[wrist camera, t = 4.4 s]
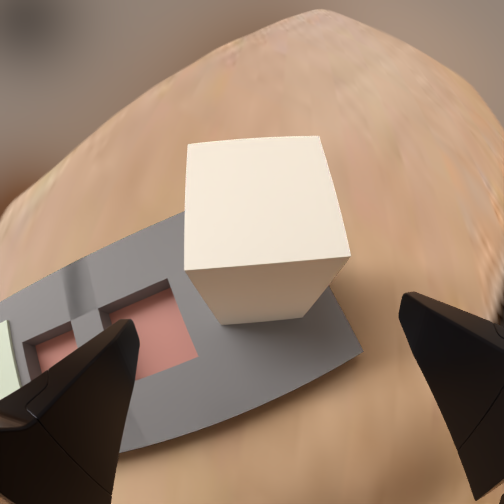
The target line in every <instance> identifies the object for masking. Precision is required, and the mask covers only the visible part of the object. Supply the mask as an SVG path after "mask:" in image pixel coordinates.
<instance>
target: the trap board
mask: <svg viewBox="0 0 504 504" xmlns="http://www.w3.org/2000/svg"><path fill="white" fill-rule="evenodd" d="M184 223H185V211H184V212H182V213H179V214H177V215H175V216H172V217H170V218H168V219H165V220H163V221H161V222H158V223H156V224H154V225H152V226H149V227H147V228H145V229H143V230H140V231H138V232H136V233H134V234H132V235H129V236H127V237H125V238H123V239H121V240H119V241H117V242H114V243H112V244H110V245H108V246H106V247H104V248H102V249H100V250H98V251H96V252H94V253H91V254H89V255H87V256H85V257H83V258H81V259H79V260H77V261H75V262H73V263H71V264H69V265H67V266H66V267H64V268H62V269H60V270H58V271H56V272H54V273H52V274H50V275H48V276H46V277H44V278H43V279H41V280H39V281H37V282H35V283H33V284H31V285H30V286H28V287H26V288H24V289H22V290H21V291H19V292H17V293H15V294H14V295H12V296H10V297H8V298H6V299H5V300H3V301H1V302H0V400H1V399H3V398H4V397H6V396H8V395H9V394H11V393H13V392H14V391H16V390H18V389H19V388H21V387H22V386H24V385H26V384H27V383H29V382H30V381H32V380H33V379H35V378H36V377H38V376H39V375H40V374H42V373H43V372H45V371H46V370H49V368H50V367H52V366H53V365H55V364H56V363H58V362H59V361H60V360H62V359H63V358H65V357H66V356H67V355H69V354H70V353H72V352H73V351H75V350H76V349H78V348H79V347H80V346H82V345H83V344H85V343H86V342H88V341H89V340H90V339H92V338H93V337H95V336H96V335H98V334H99V333H101V332H102V331H104V330H105V329H106V328H108V327H109V326H111V325H112V324H114V323H115V322H117V321H118V320H120V319H132V320H133V322H134V324H135V327H136V330H137V333H138V336H139V340H140V348H139V355H138V362H137V369H136V377H135V384H134V388H133V392H132V396H131V401H130V405H129V409H128V413H127V418H126V422H125V427H124V432H123V436H122V441H121V446H120V451H119V453H121V452H125V451H130V450H134V449H138V448H141V447H145V446H149V445H152V444H156V443H159V442H163V441H166V440H169V439H173V438H176V437H179V436H182V435H185V434H188V433H191V432H194V431H197V430H200V429H203V428H205V427H208V426H211V425H214V424H216V423H219V422H222V421H224V420H227V419H229V418H232V417H234V416H237V415H239V414H242V413H244V412H247V411H249V410H251V409H254V408H256V407H258V406H260V405H263V404H265V403H267V402H269V401H272V400H274V399H276V398H278V397H280V396H282V395H284V394H286V393H289V392H291V391H293V390H295V389H297V388H299V387H301V386H303V385H305V384H307V383H309V382H310V381H312V380H314V379H316V378H318V377H320V376H322V375H324V374H326V373H327V372H329V371H331V370H333V369H335V368H336V367H338V366H340V365H342V364H343V363H345V362H347V361H349V360H350V359H352V358H354V357H355V356H357V355H359V354H360V353H362V352H364V351H363V349H362V347H361V345H360V343H359V342H358V340H357V338H356V336H355V334H354V332H353V330H352V328H351V326H350V324H349V322H348V320H347V319H346V317H345V315H344V313H343V311H342V309H341V307H340V306H339V304H338V302H337V300H336V298H335V296H334V294H333V293H332V291H331V289H330V287H329V285H328V287H327V288H326V289H325V290H324V292H323V293H322V294H321V295H320V297H319V298H318V299H317V300H316V302H315V303H314V304H313V305H312V307H311V308H310V309H309V310H308V311H307V313H306V314H305V315H304V316H303V317H302V318H294V319H285V320H275V321H265V322H254V323H242V324H228V325H221V324H220V323H219V322H218V320H217V319H216V317H215V316H214V314H213V313H212V311H211V310H210V309H209V307H208V306H207V304H206V303H205V301H204V300H203V298H202V297H201V295H200V294H199V292H198V291H197V289H196V288H195V286H194V285H193V283H192V282H191V280H190V279H189V277H188V276H187V274H186V272H185V271H184Z"/></svg>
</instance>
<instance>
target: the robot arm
mask: <svg viewBox="0 0 504 504" xmlns="http://www.w3.org/2000/svg"><path fill="white" fill-rule="evenodd" d="M399 320H400V323H401V325H402V328H403V330H404V333H405V335H406V338H407V340H408V343H409V345H410V348H411V350H412V353H413V355H414V357H415V359H416V361H417V363H418V365H419V367H420V369H421V371H422V373H423V375H424V377H425V379H426V381H427V383H428V385H429V387H430V389H431V391H432V393H433V396H434V398H435V400H436V402H437V404H438V406H439V409H440V411H441V413H442V415H443V418H444V420H445V422H446V425H447V427H448V429H449V432H450V434H451V436H452V439H453V441H454V444H455V446H456V449H457V451H458V454H459V457H460V459H461V462H462V465H463V467H464V470H465V473H466V476H467V479H468V481H469V484H470V487H471V490H472V493H473V496H474V499H475V501H477V500H479V499H480V498H482V497H483V496H485V495H486V494H488V493H489V492H491V491H492V490H494V489H495V488H497V487H498V486H500V485H501V484H502V483H504V327H503V326H500V325H498V324H496V323H492V322H490V321H488V320H485V319H483V318H480V317H478V316H475V315H473V314H470V313H468V312H465V311H463V310H460V309H458V308H455V307H453V306H450V305H448V304H445V303H443V302H440V301H437V300H435V299H432V298H430V297H427V296H424V295H422V294H419V293H417V292H408V293H404V294H403V296H402V300H401V305H400V310H399ZM139 348H140V340H139V336H138V333H137V330H136V327H135V324H134V322H133V320H132V319H120V320H118V321H117V322H115V323H114V324H112V325H111V326H109V327H108V328H106V329H105V330H104V331H102V332H101V333H99V334H98V335H96V336H95V337H93V338H92V339H90V340H89V341H88V342H86V343H85V344H83V345H82V346H80V347H79V348H78V349H76V350H75V351H73V352H72V353H70V354H69V355H67V356H66V357H65V358H63V359H62V360H60V361H59V362H58V363H56V364H55V365H53V366H52V367H50V368H49V370H46V371H45V372H43V373H42V374H40V375H39V376H38V377H36V378H35V379H33V380H32V381H30V382H29V383H27V384H26V385H24V386H22V387H21V388H19V389H18V390H16V391H14V392H13V393H11V394H9V395H8V396H6V397H4V398H3V399H1V400H0V504H111V499H112V496H111V495H112V491H113V485H114V479H115V473H116V467H117V462H118V457H119V451H120V446H121V441H122V436H123V432H124V427H125V422H126V418H127V413H128V409H129V405H130V401H131V396H132V392H133V388H134V384H135V377H136V369H137V362H138V355H139ZM499 504H504V494H503V495H502V496H501V500H500V503H499Z"/></svg>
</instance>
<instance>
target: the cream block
mask: <svg viewBox="0 0 504 504" xmlns="http://www.w3.org/2000/svg"><path fill="white" fill-rule="evenodd" d="M350 257H351V254H350V249H349V245H348V240H347V236H346V232H345V227H344V223H343V219H342V215H341V211H340V207H339V204H338V200H337V196H336V192H335V189H334V185H333V181H332V178H331V174H330V171H329V167H328V164H327V161H326V157H325V154H324V151H323V147H322V144H321V141H320V138H319V136H288V137H265V138H248V139H235V140H223V141H213V142H203V143H195V144H188V150H187V167H186V189H185V223H184V271H185V272H186V274H187V276H188V277H189V279H190V280H191V282H192V283H193V285H194V286H195V288H196V289H197V291H198V292H199V294H200V295H201V297H202V298H203V300H204V301H205V303H206V304H207V306H208V307H209V309H210V310H211V311H212V313H213V314H214V316H215V317H216V319H217V320H218V322H219V323H220V324H221V325H228V324H242V323H254V322H265V321H275V320H285V319H294V318H302V317H303V316H304V315H305V314H306V313H307V311H308V310H309V309H310V308H311V307H312V305H313V304H314V303H315V302H316V300H317V299H318V298H319V297H320V295H321V294H322V293H323V292H324V290H325V289H326V288H327V287H328V285H329V284H330V283H331V282H332V280H333V279H334V278H335V276H336V275H337V274H338V273H339V271H340V270H341V269H342V267H343V266H344V265H345V263H346V262H347V261H348V259H349V258H350Z"/></svg>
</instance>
